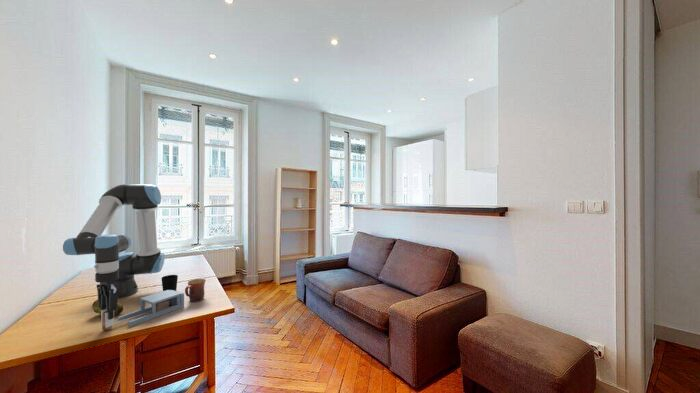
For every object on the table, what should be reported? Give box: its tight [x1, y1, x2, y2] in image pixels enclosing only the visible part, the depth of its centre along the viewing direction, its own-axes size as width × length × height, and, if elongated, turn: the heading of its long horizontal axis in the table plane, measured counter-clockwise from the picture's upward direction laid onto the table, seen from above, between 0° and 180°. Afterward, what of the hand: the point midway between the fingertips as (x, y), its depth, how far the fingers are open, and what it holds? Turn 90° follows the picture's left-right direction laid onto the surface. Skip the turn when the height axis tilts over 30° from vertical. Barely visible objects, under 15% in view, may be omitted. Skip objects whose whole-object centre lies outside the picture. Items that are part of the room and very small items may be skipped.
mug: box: [184, 278, 206, 302], centre depth 146 cm, size 12×9×10 cm
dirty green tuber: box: [91, 299, 124, 316], centre depth 129 cm, size 8×13×8 cm, turn 69°
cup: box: [161, 274, 179, 291], centre depth 150 cm, size 8×8×12 cm
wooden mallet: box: [101, 300, 170, 331], centre depth 124 cm, size 5×25×7 cm, turn 152°
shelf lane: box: [117, 290, 185, 328], centre depth 131 cm, size 11×24×8 cm, turn 153°
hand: (107, 325), depth 115 cm, fingers closed on wooden mallet, 3 cm apart
